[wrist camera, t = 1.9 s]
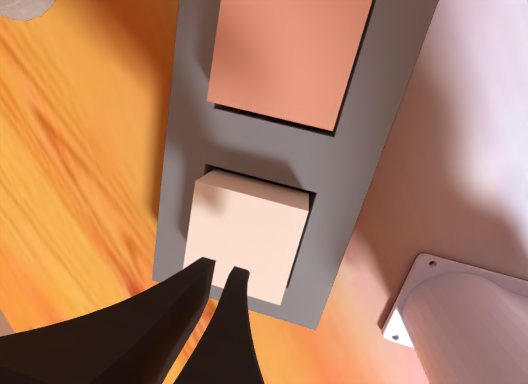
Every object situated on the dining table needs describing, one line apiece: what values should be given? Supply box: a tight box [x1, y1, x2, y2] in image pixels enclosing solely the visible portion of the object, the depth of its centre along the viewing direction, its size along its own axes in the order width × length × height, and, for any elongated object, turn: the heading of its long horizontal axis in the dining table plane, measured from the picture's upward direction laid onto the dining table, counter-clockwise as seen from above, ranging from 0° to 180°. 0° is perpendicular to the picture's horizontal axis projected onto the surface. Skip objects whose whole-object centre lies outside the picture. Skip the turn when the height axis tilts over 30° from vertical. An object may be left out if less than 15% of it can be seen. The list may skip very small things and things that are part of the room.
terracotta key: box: [207, 0, 372, 131], centre depth 12 cm, size 6×6×3 cm
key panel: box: [152, 0, 439, 330], centre depth 17 cm, size 12×22×4 cm, turn 168°
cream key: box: [183, 169, 309, 305], centre depth 16 cm, size 6×6×3 cm
